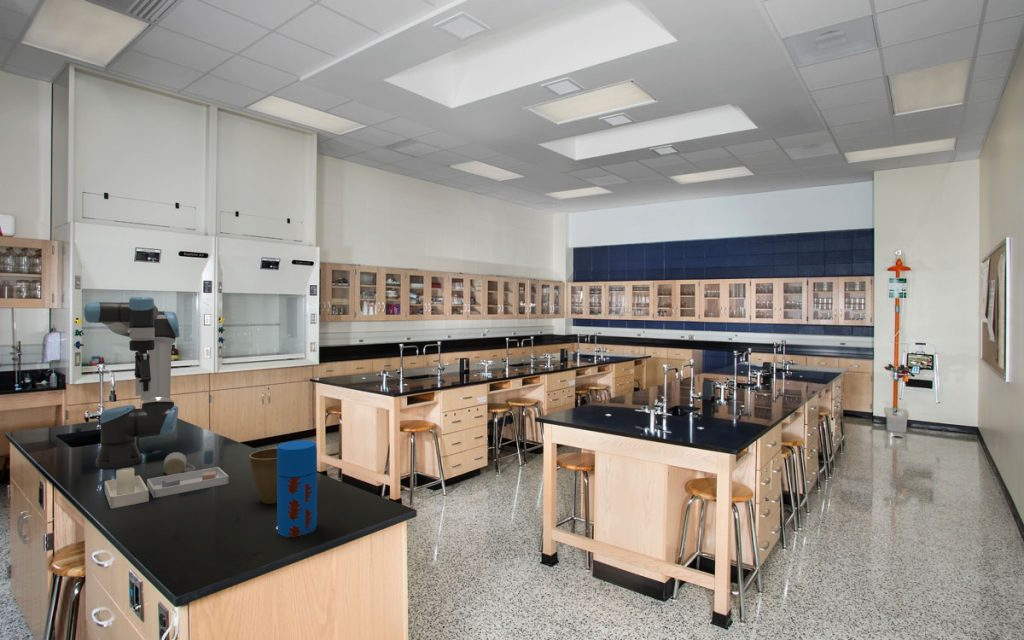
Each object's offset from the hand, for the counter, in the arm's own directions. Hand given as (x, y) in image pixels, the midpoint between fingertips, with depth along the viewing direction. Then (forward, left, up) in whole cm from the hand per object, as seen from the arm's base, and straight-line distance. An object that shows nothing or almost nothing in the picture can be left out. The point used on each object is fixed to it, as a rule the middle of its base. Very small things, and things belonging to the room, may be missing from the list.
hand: (142, 397), depth 199 cm
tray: (+12, +12, -32) cm, 36 cm away
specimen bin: (+12, -6, -32) cm, 35 cm away
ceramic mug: (-7, +12, -32) cm, 35 cm away
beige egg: (+12, -7, -31) cm, 34 cm away
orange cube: (+16, +18, -31) cm, 40 cm away
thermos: (+77, +28, -32) cm, 88 cm away
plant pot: (+47, +31, -32) cm, 65 cm away
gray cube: (+16, +6, -31) cm, 36 cm away
